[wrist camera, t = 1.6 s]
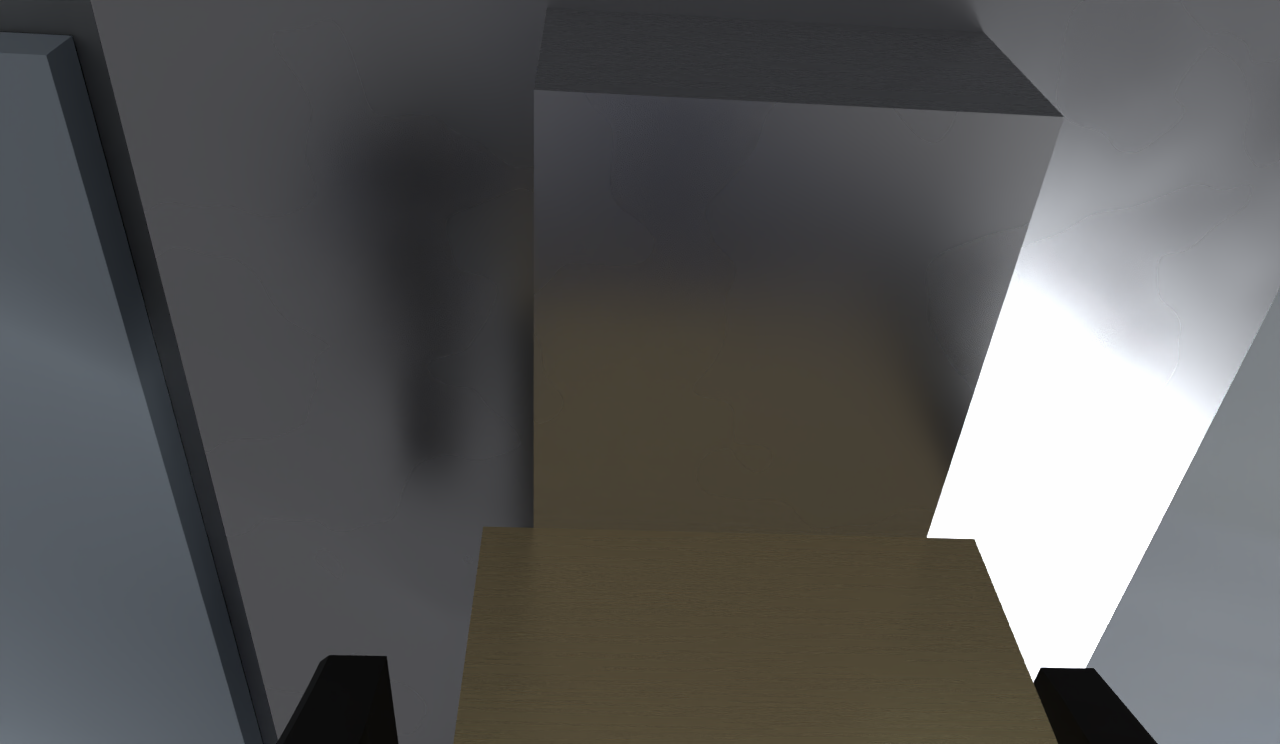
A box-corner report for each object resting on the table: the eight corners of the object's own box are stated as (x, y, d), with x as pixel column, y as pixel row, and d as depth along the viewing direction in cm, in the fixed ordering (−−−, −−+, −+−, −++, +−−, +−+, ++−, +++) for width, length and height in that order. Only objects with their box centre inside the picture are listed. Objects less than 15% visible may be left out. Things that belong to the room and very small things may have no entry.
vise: (957, 794, 20) (1115, 1316, 13) (330, 788, 19) (198, 1336, 13) (1354, -94, 10) (2480, 314, 4) (123, -174, 9) (-750, 178, 3)
